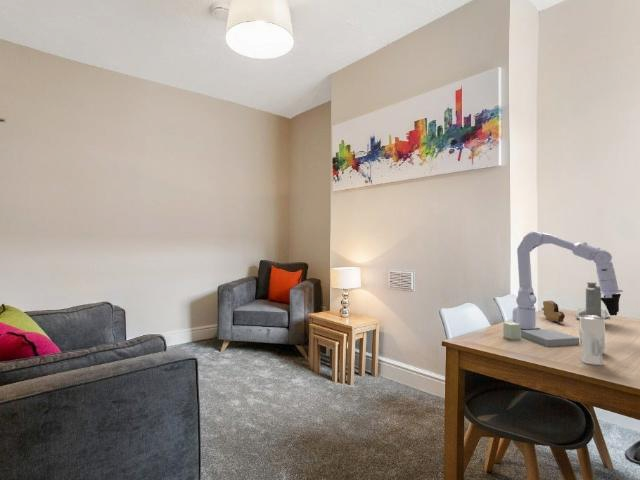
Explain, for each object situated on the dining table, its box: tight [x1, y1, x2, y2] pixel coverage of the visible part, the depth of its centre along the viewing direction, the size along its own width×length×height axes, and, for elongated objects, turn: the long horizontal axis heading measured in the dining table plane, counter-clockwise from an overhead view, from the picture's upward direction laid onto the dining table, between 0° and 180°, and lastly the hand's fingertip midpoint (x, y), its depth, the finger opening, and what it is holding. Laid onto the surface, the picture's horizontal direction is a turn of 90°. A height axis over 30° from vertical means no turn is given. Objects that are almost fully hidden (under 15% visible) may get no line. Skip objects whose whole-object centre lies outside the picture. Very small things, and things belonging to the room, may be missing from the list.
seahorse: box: [574, 307, 609, 321], centre depth 184 cm, size 5×12×20 cm
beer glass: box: [578, 315, 606, 366], centre depth 121 cm, size 7×7×15 cm
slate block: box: [521, 328, 580, 347], centre depth 146 cm, size 14×14×3 cm
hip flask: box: [585, 281, 602, 317], centre depth 170 cm, size 16×4×20 cm, turn 132°
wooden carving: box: [541, 300, 566, 323], centre depth 178 cm, size 16×5×10 cm, turn 179°
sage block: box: [502, 321, 522, 340], centre depth 150 cm, size 4×4×6 cm
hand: (614, 313), depth 146 cm, fingers open, 7 cm apart
